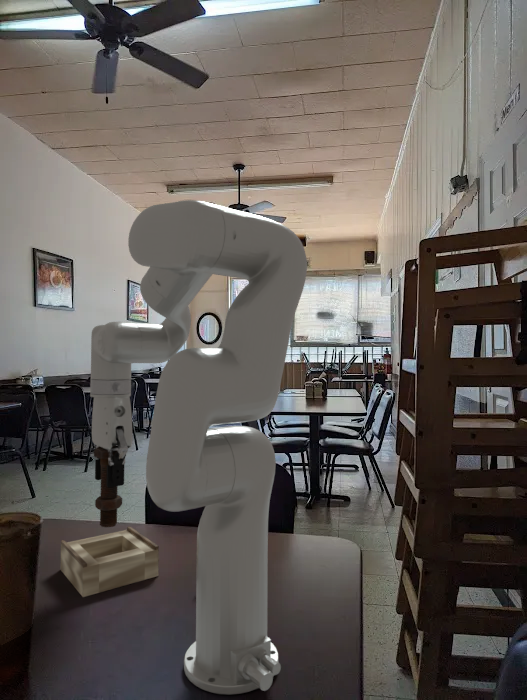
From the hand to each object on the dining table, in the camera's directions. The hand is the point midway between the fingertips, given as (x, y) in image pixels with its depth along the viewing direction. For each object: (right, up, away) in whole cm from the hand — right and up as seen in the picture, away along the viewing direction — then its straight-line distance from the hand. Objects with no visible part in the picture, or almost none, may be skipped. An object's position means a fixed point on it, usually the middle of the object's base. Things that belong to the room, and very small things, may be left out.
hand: (109, 481), depth 94 cm
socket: (0, -17, -1) cm, 17 cm away
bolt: (0, -9, 0) cm, 9 cm away
